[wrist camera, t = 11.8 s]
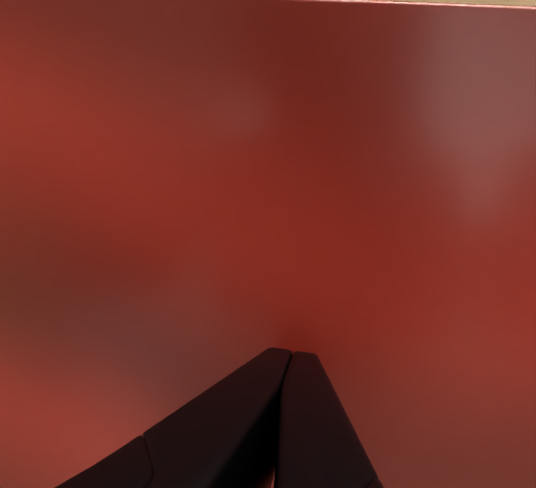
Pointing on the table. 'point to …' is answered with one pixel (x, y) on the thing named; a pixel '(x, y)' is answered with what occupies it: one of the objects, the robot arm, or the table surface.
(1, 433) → the lid
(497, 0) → the table surface
